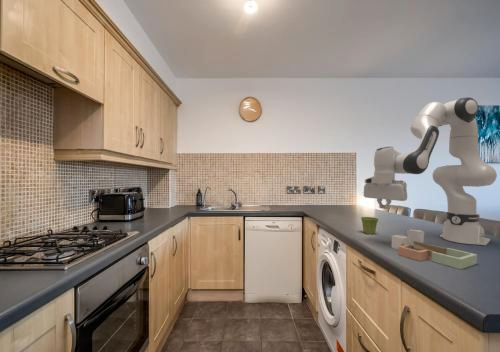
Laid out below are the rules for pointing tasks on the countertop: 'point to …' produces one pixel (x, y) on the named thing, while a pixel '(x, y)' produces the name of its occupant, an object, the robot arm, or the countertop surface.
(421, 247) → the brown piece
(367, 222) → the plant pot
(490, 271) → the countertop surface
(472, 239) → the robot arm
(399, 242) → the block
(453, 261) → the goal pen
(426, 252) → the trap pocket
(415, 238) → the beige cube
